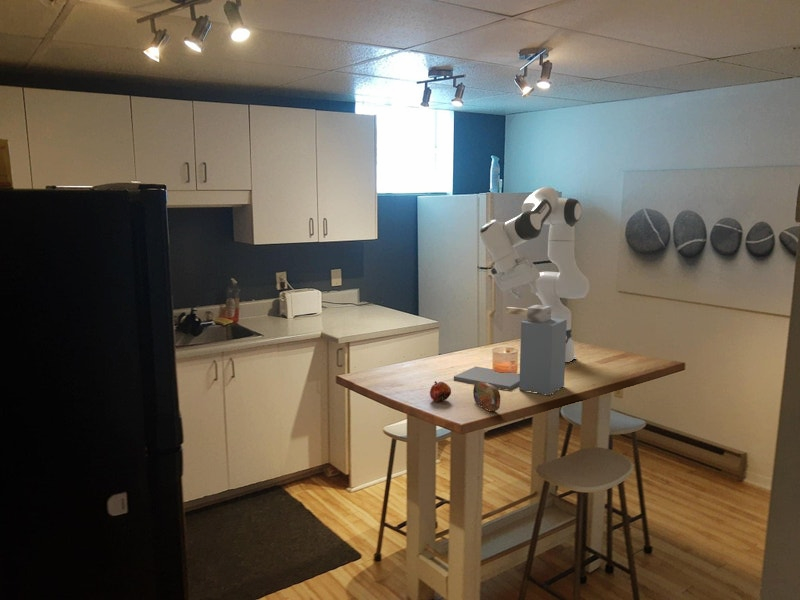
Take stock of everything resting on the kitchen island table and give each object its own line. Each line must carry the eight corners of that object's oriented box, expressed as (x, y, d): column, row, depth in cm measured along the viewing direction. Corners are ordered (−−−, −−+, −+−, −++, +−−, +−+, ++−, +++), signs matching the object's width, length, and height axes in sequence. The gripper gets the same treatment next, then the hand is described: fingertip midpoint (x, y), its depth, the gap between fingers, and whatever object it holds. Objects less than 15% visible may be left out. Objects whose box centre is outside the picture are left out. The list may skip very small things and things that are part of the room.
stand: (519, 390, 232) (521, 321, 228) (534, 381, 244) (536, 316, 240) (549, 396, 226) (552, 325, 222) (564, 386, 237) (566, 319, 233)
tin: (472, 401, 220) (472, 378, 219) (480, 400, 221) (480, 377, 220) (493, 415, 206) (493, 390, 205) (501, 414, 207) (502, 389, 206)
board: (453, 379, 246) (453, 376, 246) (475, 369, 261) (475, 366, 260) (509, 390, 233) (509, 386, 232) (529, 379, 247) (529, 375, 247)
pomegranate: (453, 408, 219) (446, 385, 226) (455, 396, 214) (448, 373, 221) (433, 412, 218) (426, 388, 225) (434, 400, 213) (427, 376, 220)
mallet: (502, 318, 236) (502, 305, 235) (511, 314, 242) (511, 302, 242) (542, 322, 227) (542, 309, 226) (550, 319, 233) (551, 306, 232)
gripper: (532, 251, 219) (551, 285, 220) (498, 265, 237) (516, 296, 238) (520, 259, 216) (540, 294, 217) (487, 272, 234) (505, 304, 235)
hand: (527, 295), depth 227 cm, fingers open, 8 cm apart
